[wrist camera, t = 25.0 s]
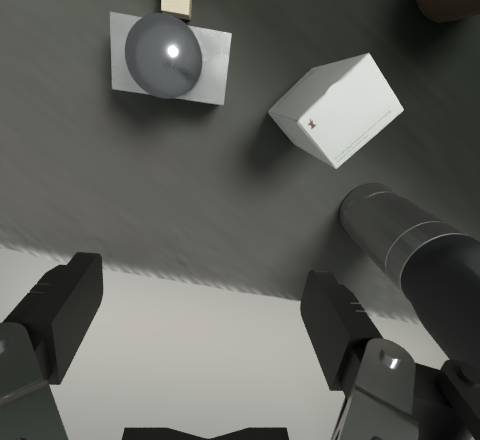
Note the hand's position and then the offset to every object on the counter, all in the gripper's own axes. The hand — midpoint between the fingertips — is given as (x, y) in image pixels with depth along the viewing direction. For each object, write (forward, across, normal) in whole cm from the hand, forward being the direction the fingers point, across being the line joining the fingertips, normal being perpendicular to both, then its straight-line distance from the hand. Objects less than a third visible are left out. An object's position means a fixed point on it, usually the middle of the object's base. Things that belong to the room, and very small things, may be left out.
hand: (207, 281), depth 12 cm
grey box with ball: (+33, +5, -8) cm, 35 cm away
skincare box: (+33, -12, -6) cm, 36 cm away
